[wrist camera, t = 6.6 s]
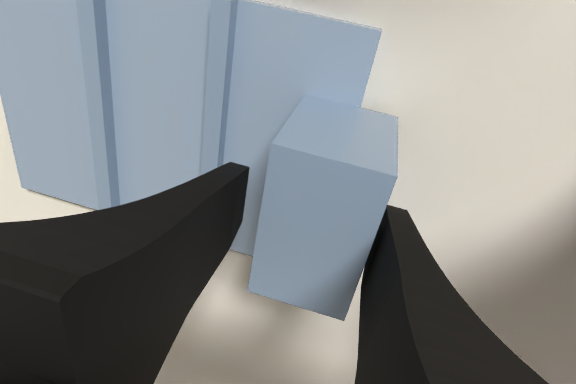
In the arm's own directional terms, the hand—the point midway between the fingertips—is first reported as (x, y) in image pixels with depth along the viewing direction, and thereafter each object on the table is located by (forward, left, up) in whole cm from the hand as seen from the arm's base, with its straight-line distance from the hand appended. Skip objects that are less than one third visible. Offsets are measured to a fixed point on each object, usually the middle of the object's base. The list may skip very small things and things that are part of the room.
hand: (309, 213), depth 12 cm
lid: (+6, 0, -4) cm, 7 cm away
